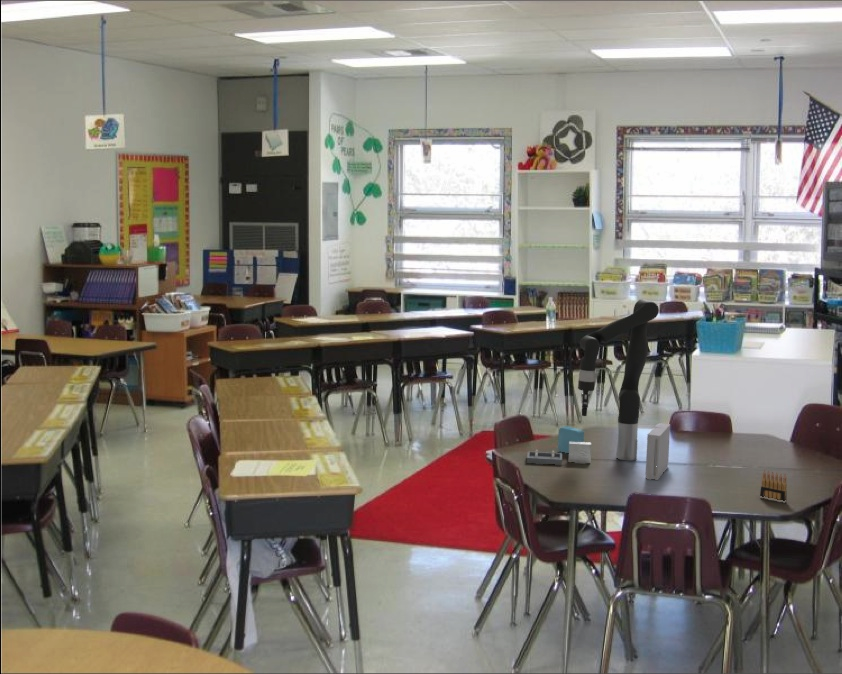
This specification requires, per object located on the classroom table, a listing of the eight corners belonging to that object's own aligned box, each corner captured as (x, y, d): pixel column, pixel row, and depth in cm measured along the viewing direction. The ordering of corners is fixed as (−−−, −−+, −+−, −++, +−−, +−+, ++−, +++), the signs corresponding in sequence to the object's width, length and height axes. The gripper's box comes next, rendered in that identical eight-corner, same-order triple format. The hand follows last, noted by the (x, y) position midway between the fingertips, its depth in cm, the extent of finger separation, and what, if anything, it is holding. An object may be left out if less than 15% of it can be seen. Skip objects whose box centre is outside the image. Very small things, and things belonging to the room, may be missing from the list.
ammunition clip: (759, 498, 462) (761, 470, 461) (761, 497, 464) (763, 469, 462) (784, 503, 455) (786, 474, 454) (786, 502, 457) (788, 474, 455)
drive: (590, 461, 520) (590, 442, 519) (590, 463, 515) (591, 444, 514) (568, 460, 521) (569, 441, 520) (568, 462, 517) (569, 443, 515)
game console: (644, 479, 490) (646, 434, 487) (655, 465, 515) (657, 423, 512) (657, 480, 488) (659, 435, 485) (668, 466, 513) (670, 424, 510)
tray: (561, 458, 524) (562, 450, 523) (561, 465, 511) (562, 456, 510) (527, 457, 525) (527, 448, 525) (526, 463, 513) (526, 454, 512)
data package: (583, 454, 533) (584, 430, 531) (577, 456, 529) (578, 431, 528) (563, 450, 541) (564, 425, 540) (557, 451, 538) (558, 427, 537)
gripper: (595, 382, 508) (592, 417, 510) (594, 377, 522) (592, 412, 524) (578, 381, 509) (575, 416, 511) (578, 376, 523) (575, 410, 525)
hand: (584, 414), depth 518 cm, fingers open, 8 cm apart
